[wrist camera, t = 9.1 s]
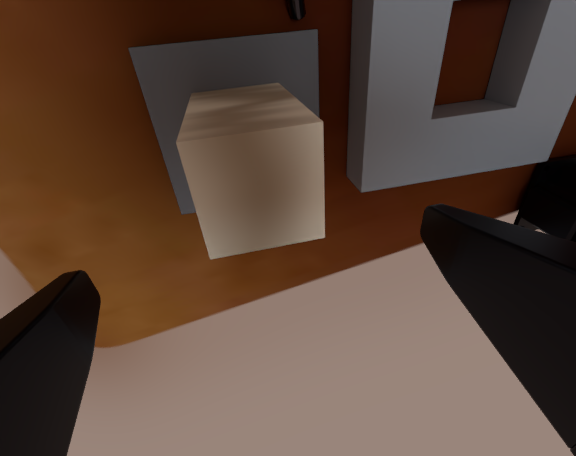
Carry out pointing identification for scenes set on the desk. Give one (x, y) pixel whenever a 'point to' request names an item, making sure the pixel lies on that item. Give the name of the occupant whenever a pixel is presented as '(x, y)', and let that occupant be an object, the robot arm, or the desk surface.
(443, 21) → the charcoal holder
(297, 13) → the stick construction toy
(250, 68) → the dark gray panel
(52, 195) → the desk surface
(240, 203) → the cream block
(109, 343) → the desk surface
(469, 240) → the robot arm
